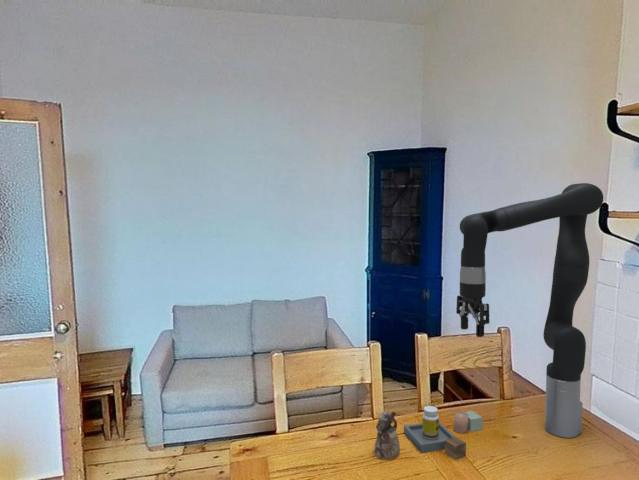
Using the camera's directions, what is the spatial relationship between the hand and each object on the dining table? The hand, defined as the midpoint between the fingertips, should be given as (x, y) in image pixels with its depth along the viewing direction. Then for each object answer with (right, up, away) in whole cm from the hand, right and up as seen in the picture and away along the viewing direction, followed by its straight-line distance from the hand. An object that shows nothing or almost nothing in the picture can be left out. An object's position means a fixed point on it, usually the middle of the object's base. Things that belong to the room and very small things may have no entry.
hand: (471, 332), depth 144 cm
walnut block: (-9, -32, -13) cm, 35 cm away
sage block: (+1, -30, +3) cm, 30 cm away
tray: (-14, -31, -5) cm, 34 cm away
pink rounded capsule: (-3, -30, 0) cm, 30 cm away
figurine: (-28, -32, -11) cm, 44 cm away
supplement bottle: (-14, -30, -5) cm, 33 cm away
